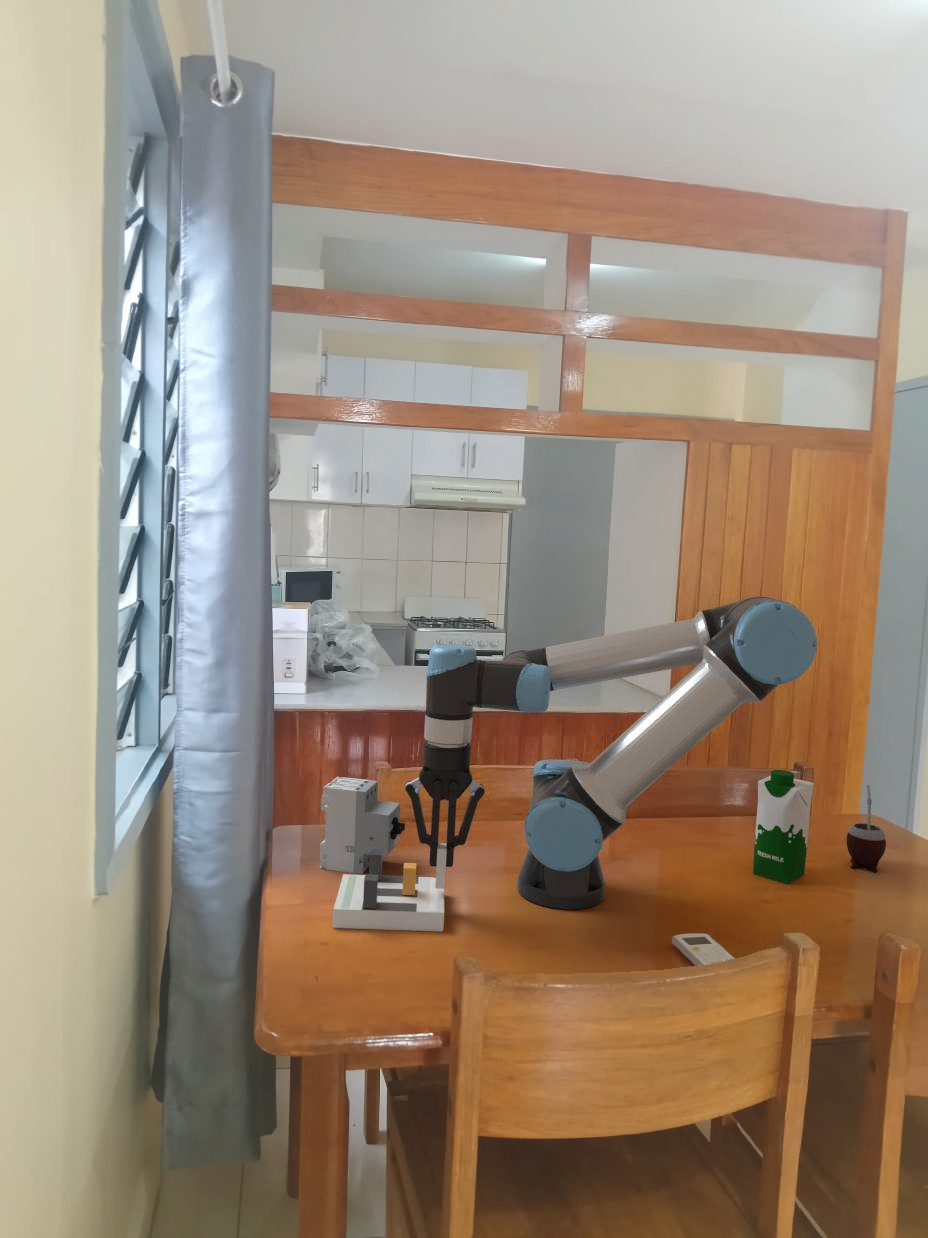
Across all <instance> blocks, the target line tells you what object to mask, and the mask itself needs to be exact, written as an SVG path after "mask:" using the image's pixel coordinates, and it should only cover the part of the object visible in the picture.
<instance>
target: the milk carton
mask: <svg viewBox="0 0 928 1238" xmlns="http://www.w3.org/2000/svg"><path fill="white" fill-rule="evenodd" d="M794 774H795V773H794V772H791V771H789V770H783V769H782V770H781V769H773V770H771V771H770V775H768V776H766V777H765V778H762V779H759V780H758V781H757V809H756V810H757V811H756V821H755V832H754V833H755V834H754V835H755V836H754V846H753V847H754V848H753V849H754V850H753V864H752V865H753V868H752V874H753V875H756V876H761V877H764V878H766V879H767V878H768V879H770V880H773V881H777V882H780V883H783V884H786V885H790V884H792V883H793V882H795V881H797V880H798V879H800V878H801V877H803V876H805V869H806V861H807V860H806V859H807V849H808V841H809V838H808V837H809V827H810V826H809V825H810V817H811V816H810V815H811V804H812V798H813V793H814V792H813V791H814V785H815V783H814V782H811V781H807V780H802V779H799V778H795V775H794Z"/></svg>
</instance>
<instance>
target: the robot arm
mask: <svg viewBox="0 0 928 1238" xmlns="http://www.w3.org/2000/svg"><path fill="white" fill-rule="evenodd" d="M817 637H818V636H817V631H816V630H815V626H814V625H813V622H811V620H810V619H809V617H808V616H807V615H806V614H805V613H804V612H803V611H801V610H800V609H799V608H797V606H795V604H793V603H792V604H791V603H789V602H787V601H784V600H779V599H775V598H771V597H767V596H751V597H748V598H743V599H741V600H737V601H734V602H731V603H728V604H724V605H720V606H718V607H713V608H709V609H703V610H699V611H698V612H697V613H696V614H695V616H694V617H693V618H689V619H684V620H679V621H674V622H668V623H664V624H658V625H654V626H648V627H643V628H637V629H632V630H627V631H623V632H617V633H611V634H606V635H601V636H596V637H591V638H587V639H581V640H575V641H570V642H565V643H561V644H560V643H559V644H556V645H550V646H546V647H542V648H535V649H529V650H527V649H519V650H515V651H510V653H508V654H507V655H505V656H504V657H503V658H502V660H501V661H492V660H491V661H490V660H483V659H478V656H477V651H476V649H475V648H474V647H473V646H470V645H463V644H455V643H454V644H453V643H452V644H451V643H449V644H436V645H435V646H433V647H432V648H431V649H430V650H429V655H428V664H427V671H426V689H425V690H426V692H425V693H426V694H425V715H424V732H423V733H424V734H423V738H424V740H426V741H425V742H424V743H423V750H422V751H423V753H422V754H423V756H422V768H421V770H420V772H419V774H418V777H417V778H415V779H414V780H412V781H411V780H408V781H407V782H405V792H406V793H407V795H408V796H409V798H410V800H411V805H412V810H413V816H414V819H415V825H416V830H417V835H418V839H419V843H420V844H425V845H428V847H429V866H430V867H435V868H436V869H435V877H436V883H435V888H438V889H444V890H445V889H446V869H447V868H452V867H453V865H454V854H455V853H454V852H455V849H456V847H458V846H464V845H465V844H466V842H467V838H468V835H469V833H470V832H469V831H470V828H471V826H472V822H473V821H474V820H473V819H474V816H475V812H476V810H477V806H478V803H479V801H481V799H482V798H483V796H485V793H486V791H485V786H484V784H482V783H477V781H476V780H474V779H473V775H472V773H471V769H470V768H471V751H472V750H471V748H472V746H471V745H470V742H471V741H472V736H473V735H472V734H473V731H472V730H473V714H474V713H473V709H474V708H477V709H489V710H490V709H491V710H500V711H501V710H502V711H510V712H511V711H513V712H522V713H525V714H528V713H544V712H546V711H547V710H548V709H549V706H550V705H549V704H550V696H551V692H553V691H558V690H563V689H569V688H573V687H574V688H575V687H580V686H585V685H590V684H596V683H601V682H607V681H613V680H618V679H623V678H629V677H634V676H640V675H646V674H651V673H656V672H662V671H667V670H673V669H679V668H684V667H685V668H686V667H689V666H695V665H696V666H695V667H694V668H693V669H692V670H691V671H689V673H687V674H686V675H685V676H684V677H683V678H682V679H681V680H680V681H678V682H677V683H676V684H674V685H675V686H673V687H672V688H671V689H670V690H669V691H667V692H666V694H665V695H663V696H662V697H661V698H660V699H659V700H658V701H657V702H655V703H654V704H653V705H652V706H651V707H650V708H649V709H648V710H647V711H646V712H644V713H643V715H641V716H640V717H639V718H638V719H637V720H636V721H635V722H634V723H633V724H631V726H630V727H628V728H627V729H625V731H624V732H623V733H621V735H620V736H618V737H617V738H616V739H615V740H614V741H613V742H612V743H611V744H609V745H608V746H607V748H605V749H604V750H603V751H601V752H600V753H599V755H598V756H596V757H595V758H594V759H593V760H592V761H591V762H585V761H578V760H571V759H570V760H569V759H543V760H539V761H537V762H536V763H535V764H534V769H533V773H532V796H531V800H530V804H529V809H528V813H527V814H526V817H525V821H524V833H525V839H526V843H527V847H528V849H527V852H526V855H525V857H524V860H523V862H522V864H521V867H520V870H519V872H518V875H517V887H516V888H517V892H518V894H520V896H522V897H523V898H524V899H526V900H528V901H530V902H532V903H535V904H536V905H540V906H543V907H549V908H554V909H561V910H577V909H578V910H579V909H587V908H591V907H594V906H597V905H598V904H600V903H602V902H603V901H604V900H605V897H606V895H605V894H606V881H605V876H604V873H603V869H602V865H601V861H600V857H599V853H600V851H601V849H602V847H603V842H604V841H605V840H607V839H608V838H609V837H610V836H611V835H612V834H613V833H614V832H616V830H618V829H619V828H620V827H621V826H623V824H625V822H626V815H627V807H628V806H629V805H630V804H631V803H632V802H634V801H635V800H636V799H637V798H639V796H640V795H642V794H643V793H644V792H645V791H646V790H647V789H649V787H650V786H652V785H653V784H654V783H655V782H656V781H657V780H658V779H659V778H661V777H662V776H663V774H665V773H666V772H667V771H668V770H670V769H671V768H672V767H673V766H674V765H675V764H676V763H677V762H678V761H680V760H681V759H682V758H683V757H684V756H686V754H688V752H690V751H691V750H692V749H693V748H695V746H697V745H698V743H700V742H701V741H703V739H704V738H705V737H707V736H708V735H709V734H710V733H711V732H713V730H714V729H715V728H717V727H718V726H719V725H720V724H721V723H722V722H724V720H726V718H728V717H729V716H730V715H731V714H732V713H733V712H735V711H736V710H737V709H738V708H739V707H741V705H742V704H745V703H760V702H762V700H763V699H765V698H766V697H767V696H768V695H769V694H771V693H772V692H773V691H775V689H776V688H778V686H780V685H785V684H788V683H791V682H793V681H795V680H797V679H799V678H800V677H802V676H803V675H805V673H806V672H807V671H808V670H809V669H810V667H811V666H812V664H813V663H814V660H815V657H816V656H817V655H816V654H817V650H818V638H817ZM421 786H423V788H424V790H425V791H426V793H427V794H428V795H429V797H430V798H431V799H432V806H431V807H432V808H431V822H430V823H431V826H430V833H428V832H427V831H428V830H427V827H426V823H425V816H424V811H423V806H422V800H421V796H420V793H421V789H422V787H421ZM468 788H469V789H468ZM467 789H468V790H469V791H468V792H469V799H468V801H467V805H466V807H465V808H466V809H465V811H464V815H463V817H462V821H461V825H460V828H459V831H458V833H457V834H456V817H457V816H456V815H457V813H456V812H457V802H458V801H457V800H458V799H459V798H460V797H461V796H462V795H463V794H464V793H465V792H466V791H467ZM444 800H445V801H448V802H447V803H448V804H447V823H446V824H447V826H446V828H447V829H446V843H441V842H439V834H440V833H439V831H440V816H441V815H440V814H441V813H440V812H441V801H444Z"/></svg>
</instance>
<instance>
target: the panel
mask: <svg viewBox="0 0 928 1238" xmlns="http://www.w3.org/2000/svg"><path fill="white" fill-rule="evenodd" d="M364 879H365V874H349V873H348V874H345V873H343V874H342V877H341V881H340V885H339V888H338V892H337V894H336V899H335V902H334V905H333V908H332V909H333V914H332V928H333V929H355V930H356V929H357V930H358V929H359V930H386V931H387V930H389V931H413V932H415V931H418V932H419V931H420V932H421V931H423V932H444V926H445V889H438V888H435V883H436V876H435V877H432V876H430V877H429V876H416V884H415V895H402V892H403V875H383V874H382V877H381V881H378V894H377V906H376V908H363V897H364Z"/></svg>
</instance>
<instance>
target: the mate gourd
mask: <svg viewBox="0 0 928 1238" xmlns="http://www.w3.org/2000/svg"><path fill="white" fill-rule="evenodd" d="M870 787H871V786H870V785H869V784H868V785H866V791H867V792H866V794H867V799H866V803H867V823H862V822H860V823H859V822H857V823H854V824H852V825H851V826H850V827H849V829H848V830H847V831H848V833H846V848H847V851H848V853H849V856H850V857H851V859H850V863H851V864H852V865H850V869H851V870H860V869H864V870H867V871H869V872H871V873H874V874H877V873H878V872H879V870H878V869H877V867H878V865H879V862H880V860H881V859H882V858H883V856H884V854H885V852H886V848H887V841H886V835H885V833H884V830H883V829H882V828H880V827H879V826H876V825H874V824H871V819H872V817H871V816H872V814H871V813H872V811H871V810H872V802H873V801H872V798H871V797H872V796H871V788H870Z"/></svg>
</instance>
